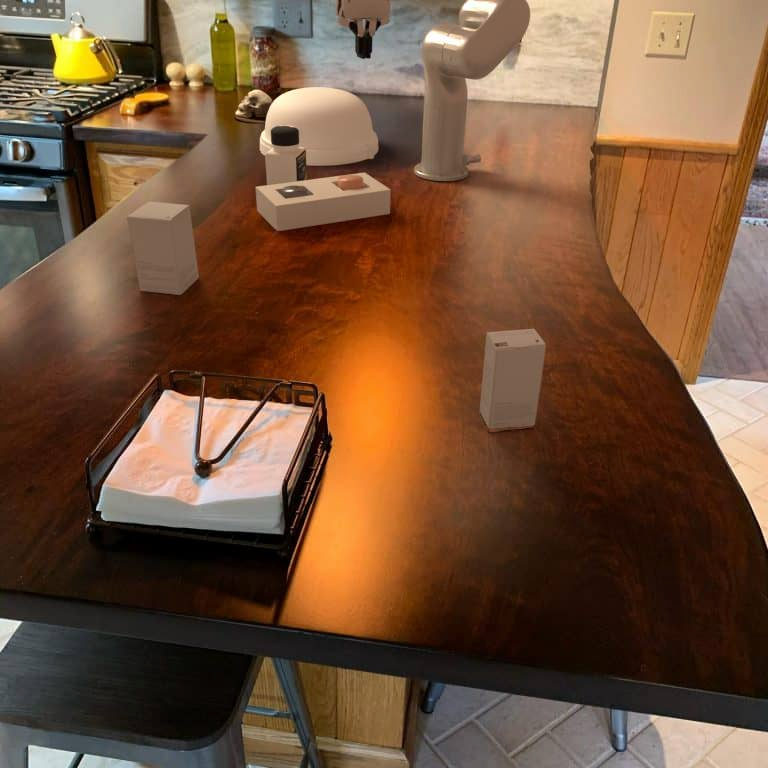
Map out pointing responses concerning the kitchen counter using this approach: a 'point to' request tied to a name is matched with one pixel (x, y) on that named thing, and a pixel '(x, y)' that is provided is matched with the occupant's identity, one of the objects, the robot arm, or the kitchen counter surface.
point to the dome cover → (324, 125)
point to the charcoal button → (294, 191)
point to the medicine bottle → (285, 156)
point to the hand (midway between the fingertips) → (363, 57)
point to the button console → (322, 202)
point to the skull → (254, 107)
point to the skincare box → (512, 378)
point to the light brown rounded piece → (350, 182)
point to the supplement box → (163, 247)
